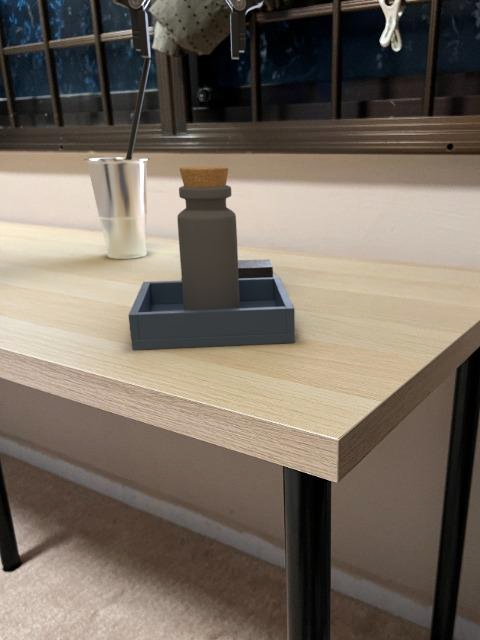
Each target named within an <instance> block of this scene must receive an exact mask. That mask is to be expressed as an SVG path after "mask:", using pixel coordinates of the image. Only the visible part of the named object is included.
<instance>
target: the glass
mask: <svg viewBox="0 0 480 640" xmlns="http://www.w3.org/2000/svg"><path fill="white" fill-rule="evenodd" d="M150 66H151V58H144V62H143V66H142V72H141V76H140V83H139V88H138V93H137V98H136V103H135V107H134V108H135V109H134V115H133V120H132V125H131V129H130V130H131V131H130V135H129V140H128V144H127V145H128V147H127V151H126V156H125V157H95V158H84V159H83V161H84V162H86V164H87V169H88V173H89V177H90V182H91V187H92V191H93V195H94V196H93V197H94V201H95V205H96V209H97V215H98V217H99V221H100V224H101V225H100V226H101V231H102V235H103V240H104V244H105V249H106V252H107V254H106V255H107V257H108V258H110V259H114V260H131V259H139V258H143V257H146V256H147V255H148V252H147V214H148V209H147V207H148V202H147V201H148V198H147V197H148V194H147V193H148V192H147V191H148V187H147V186H148V183H147V182H148V181H147V179H148V177H147V176H148V175H147V174H148V173H147V171H148V169H147V167H148V161H149V160H150V158H149V157H133V154H134V149H135V144H136V138H137V134H138V128H139V123H140V118H141V112H142V108H143V102H144V97H145V92H146V86H147V81H148V76H149V71H150Z"/></svg>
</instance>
